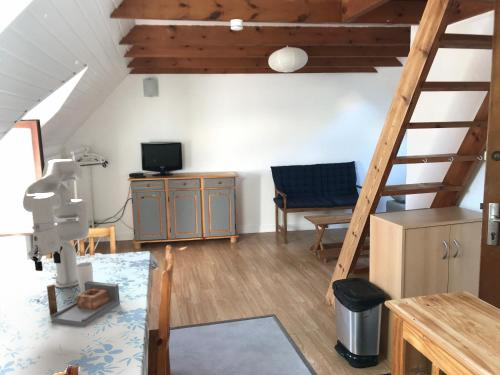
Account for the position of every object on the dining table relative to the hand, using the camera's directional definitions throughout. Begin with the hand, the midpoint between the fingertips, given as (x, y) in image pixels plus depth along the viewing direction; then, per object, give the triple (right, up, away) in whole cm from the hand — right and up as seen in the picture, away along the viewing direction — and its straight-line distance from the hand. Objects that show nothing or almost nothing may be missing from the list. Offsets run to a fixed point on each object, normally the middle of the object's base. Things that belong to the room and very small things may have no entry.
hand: (48, 266), depth 171 cm
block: (+17, -17, +5) cm, 24 cm away
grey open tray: (+15, -20, +2) cm, 25 cm away
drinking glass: (+8, -18, +20) cm, 28 cm away
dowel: (+1, -20, +3) cm, 20 cm away
